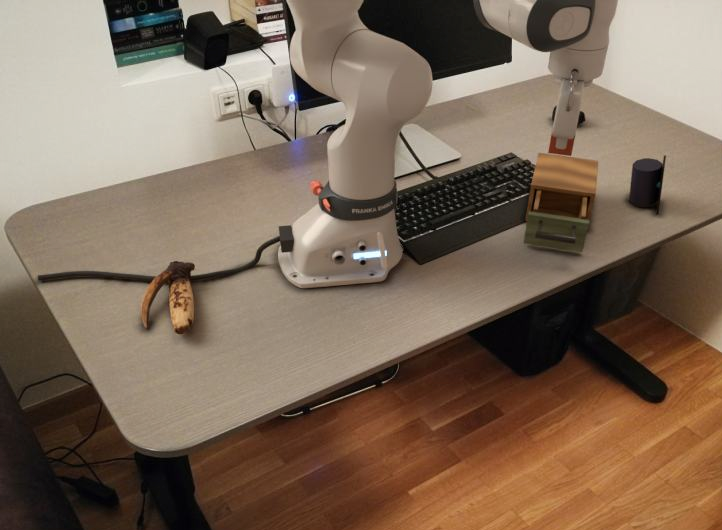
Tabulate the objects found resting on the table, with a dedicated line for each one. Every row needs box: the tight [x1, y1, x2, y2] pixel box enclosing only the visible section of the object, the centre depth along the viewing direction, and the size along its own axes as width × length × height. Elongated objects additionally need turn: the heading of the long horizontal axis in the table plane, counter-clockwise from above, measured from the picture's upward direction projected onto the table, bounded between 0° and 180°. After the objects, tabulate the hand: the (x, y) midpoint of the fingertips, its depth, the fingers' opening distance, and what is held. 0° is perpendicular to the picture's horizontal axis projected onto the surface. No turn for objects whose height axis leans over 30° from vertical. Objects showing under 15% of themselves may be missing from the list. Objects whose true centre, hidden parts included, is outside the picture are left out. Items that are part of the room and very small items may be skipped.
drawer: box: [523, 189, 590, 253], centre depth 127 cm, size 18×11×6 cm, turn 167°
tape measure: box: [551, 105, 586, 125], centre depth 168 cm, size 7×7×4 cm
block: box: [547, 122, 577, 157], centre depth 119 cm, size 4×4×4 cm
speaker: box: [628, 154, 667, 215], centre depth 138 cm, size 8×6×10 cm
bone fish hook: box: [140, 260, 196, 336], centre depth 111 cm, size 9×5×18 cm
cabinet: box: [524, 152, 599, 222], centre depth 136 cm, size 14×12×8 cm
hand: (561, 140), depth 119 cm, fingers closed on block, 4 cm apart
